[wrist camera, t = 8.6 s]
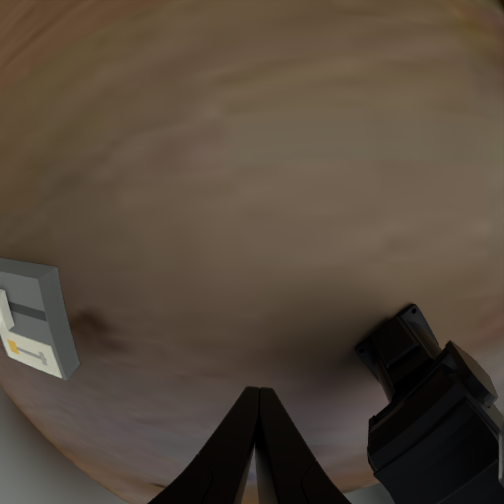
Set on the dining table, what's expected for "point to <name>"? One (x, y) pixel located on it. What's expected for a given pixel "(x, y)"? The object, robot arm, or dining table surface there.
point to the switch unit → (37, 318)
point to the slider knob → (5, 312)
